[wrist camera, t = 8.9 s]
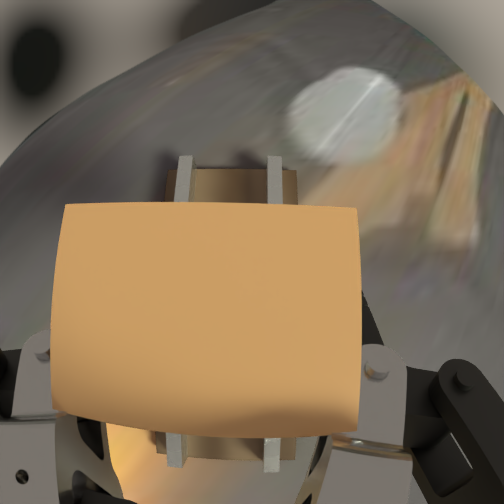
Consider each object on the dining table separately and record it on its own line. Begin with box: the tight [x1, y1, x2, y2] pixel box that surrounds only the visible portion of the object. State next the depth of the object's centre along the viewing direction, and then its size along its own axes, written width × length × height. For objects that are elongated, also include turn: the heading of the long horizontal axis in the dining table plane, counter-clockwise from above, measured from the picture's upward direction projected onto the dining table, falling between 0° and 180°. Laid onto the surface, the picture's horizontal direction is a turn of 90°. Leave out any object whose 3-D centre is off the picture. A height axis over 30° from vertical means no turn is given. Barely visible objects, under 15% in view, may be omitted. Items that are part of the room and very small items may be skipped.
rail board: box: [156, 156, 298, 472], centre depth 25 cm, size 12×26×4 cm, turn 179°
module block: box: [50, 202, 362, 438], centre depth 9 cm, size 5×4×9 cm
